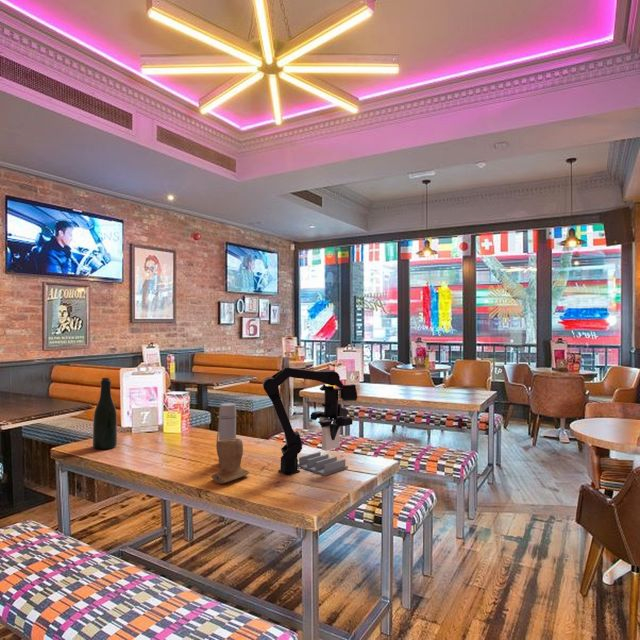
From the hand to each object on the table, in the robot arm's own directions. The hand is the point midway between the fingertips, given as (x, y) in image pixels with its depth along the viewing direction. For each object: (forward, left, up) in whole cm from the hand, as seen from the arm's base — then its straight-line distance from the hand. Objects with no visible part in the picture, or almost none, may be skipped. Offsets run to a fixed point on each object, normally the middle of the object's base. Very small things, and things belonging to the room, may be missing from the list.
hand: (330, 439), depth 191 cm
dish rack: (0, +5, -12) cm, 13 cm away
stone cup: (-36, +20, -13) cm, 43 cm away
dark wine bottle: (-53, +97, -13) cm, 111 cm away
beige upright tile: (0, 0, -4) cm, 4 cm away
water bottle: (-26, +37, -13) cm, 47 cm away
